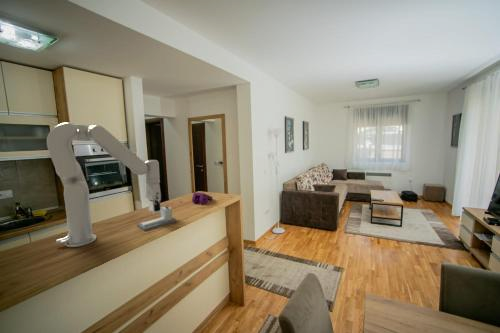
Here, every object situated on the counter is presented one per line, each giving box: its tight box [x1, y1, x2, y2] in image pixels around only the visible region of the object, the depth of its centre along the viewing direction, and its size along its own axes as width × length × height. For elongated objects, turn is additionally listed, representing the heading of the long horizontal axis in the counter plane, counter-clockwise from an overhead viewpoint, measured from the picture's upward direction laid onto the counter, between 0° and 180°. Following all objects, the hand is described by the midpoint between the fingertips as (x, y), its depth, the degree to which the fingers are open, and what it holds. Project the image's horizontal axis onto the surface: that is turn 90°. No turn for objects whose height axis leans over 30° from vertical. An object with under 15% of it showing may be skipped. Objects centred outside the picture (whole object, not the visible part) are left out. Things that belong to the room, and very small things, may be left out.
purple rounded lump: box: [191, 191, 213, 206], centre depth 182 cm, size 9×8×18 cm
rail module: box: [148, 199, 162, 215], centre depth 133 cm, size 4×6×7 cm
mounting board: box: [136, 205, 177, 232], centre depth 134 cm, size 20×10×10 cm, turn 138°
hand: (154, 209), depth 133 cm, fingers closed on rail module, 6 cm apart
